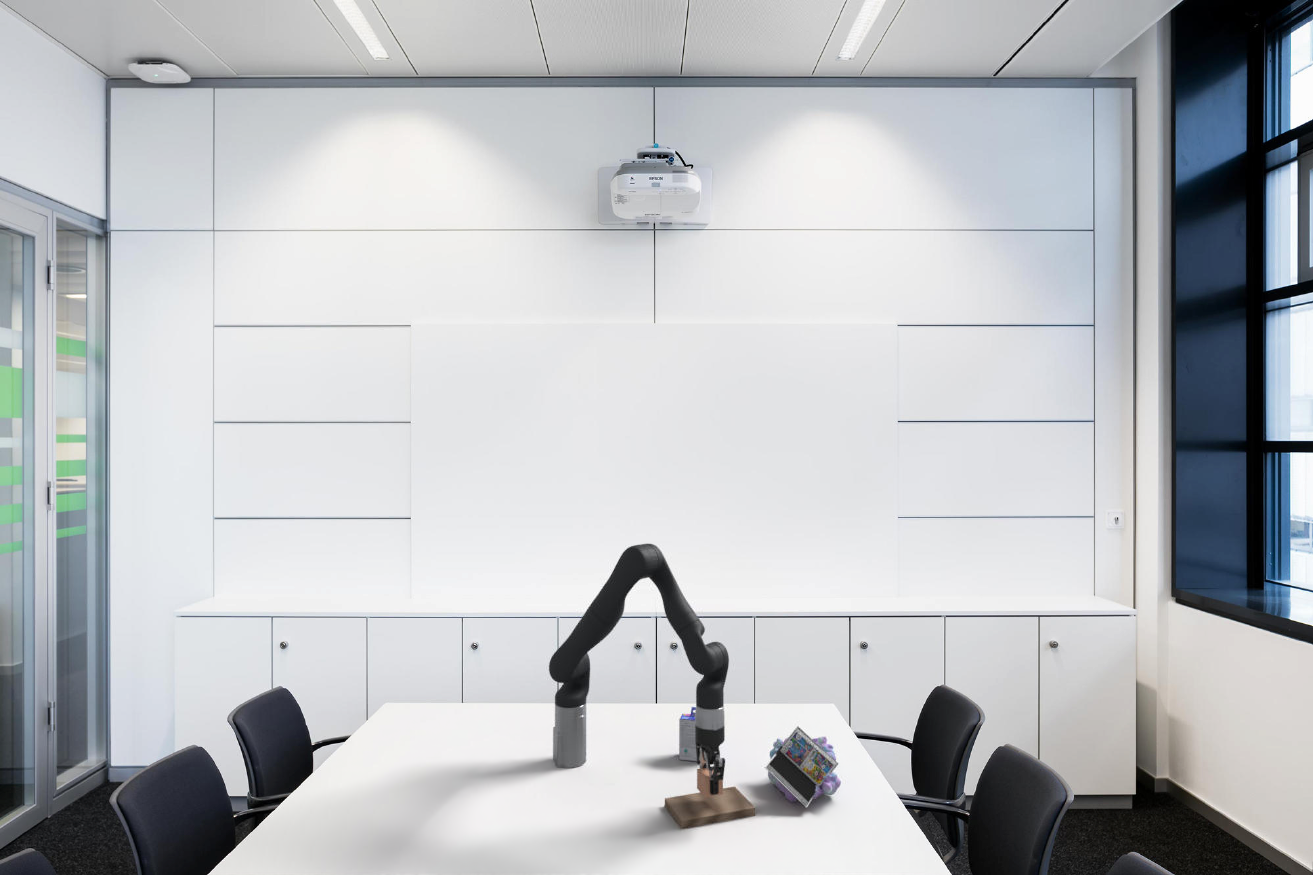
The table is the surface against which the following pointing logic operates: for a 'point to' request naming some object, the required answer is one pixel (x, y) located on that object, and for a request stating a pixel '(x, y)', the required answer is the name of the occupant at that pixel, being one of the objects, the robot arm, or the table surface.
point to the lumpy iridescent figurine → (803, 767)
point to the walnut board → (709, 808)
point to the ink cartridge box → (687, 737)
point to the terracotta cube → (706, 783)
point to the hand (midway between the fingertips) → (709, 788)
